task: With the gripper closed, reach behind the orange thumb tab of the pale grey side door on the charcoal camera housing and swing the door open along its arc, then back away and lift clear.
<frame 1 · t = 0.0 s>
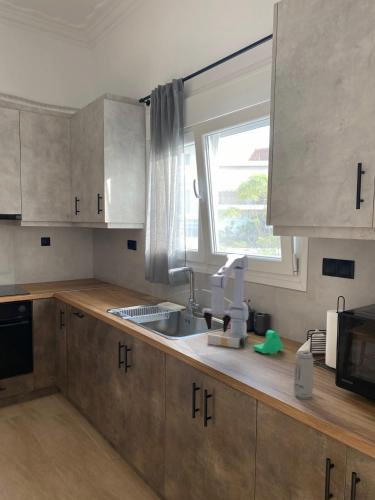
hand: (217, 330, 176), 10 cm above the table, tool pointing down, fingers open, 7 cm apart
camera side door: (223, 341, 186), point 2 cm above the table, hinge at 0.0°
energy drink can: (302, 396, 132), on the table
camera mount: (267, 351, 180), on the table
camera housing: (231, 344, 189), on the table
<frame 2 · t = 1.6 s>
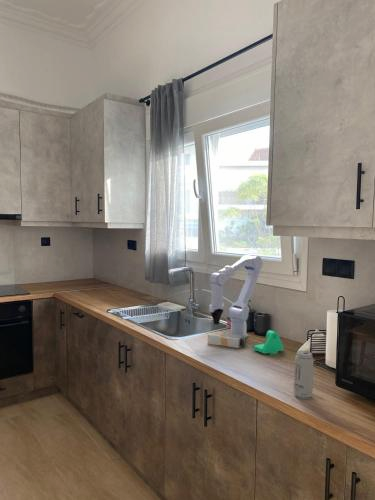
hand: (216, 324, 192), 9 cm above the table, tool pointing down, fingers closed
nothing on the table moved.
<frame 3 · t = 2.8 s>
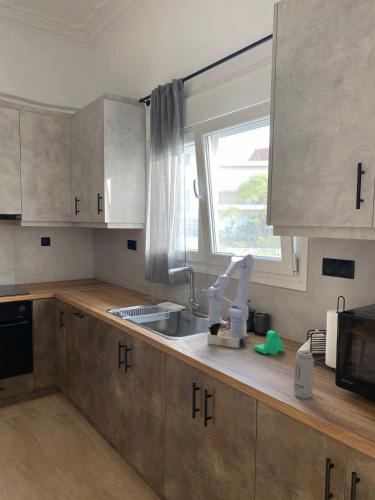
hand: (213, 338, 190), 2 cm above the table, tool pointing down, fingers closed
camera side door: (223, 341, 186), point 2 cm above the table, hinge at 0.0°, touching gripper
everything else where it was.
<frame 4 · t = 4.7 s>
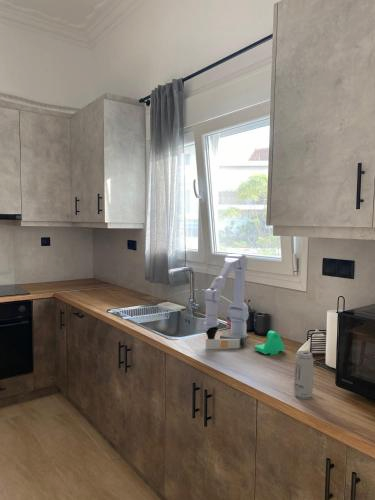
hand: (210, 342, 183), 2 cm above the table, tool pointing down, fingers closed
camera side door: (223, 343, 182), point 2 cm above the table, hinge at 31.5°, touching gripper
everything else where it was.
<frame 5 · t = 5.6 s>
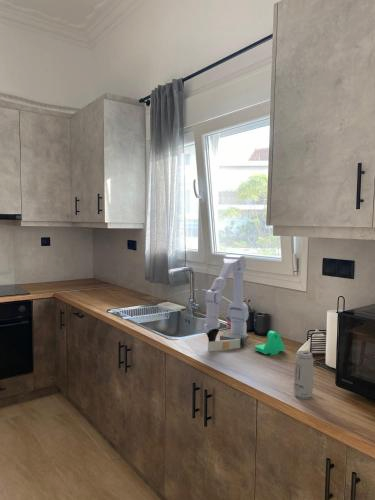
hand: (211, 344, 180), 2 cm above the table, tool pointing down, fingers closed
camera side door: (224, 345, 180), point 2 cm above the table, hinge at 46.6°, touching gripper
everything else where it was.
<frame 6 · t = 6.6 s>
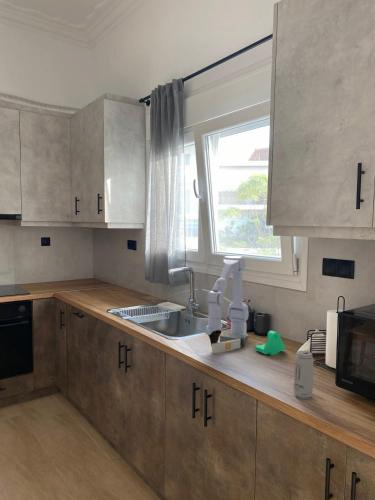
hand: (213, 346, 177), 2 cm above the table, tool pointing down, fingers closed
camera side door: (226, 346, 178), point 2 cm above the table, hinge at 59.5°, touching gripper
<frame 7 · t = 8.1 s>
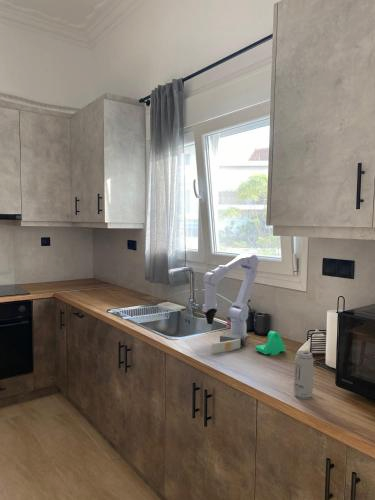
hand: (209, 323, 191), 9 cm above the table, tool pointing down, fingers closed
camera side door: (226, 346, 178), point 2 cm above the table, hinge at 59.5°
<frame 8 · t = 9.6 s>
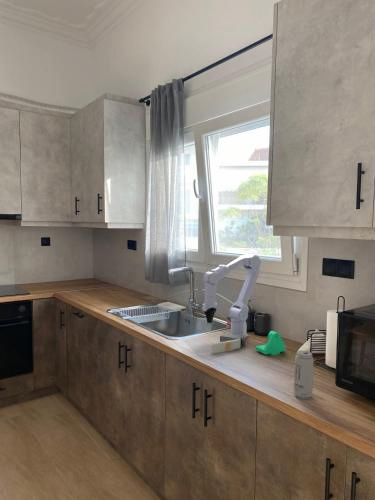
hand: (209, 322, 193), 9 cm above the table, tool pointing down, fingers closed
at the end: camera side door at +60° (first picture: +0°); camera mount moved 1.7 cm from its start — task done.
